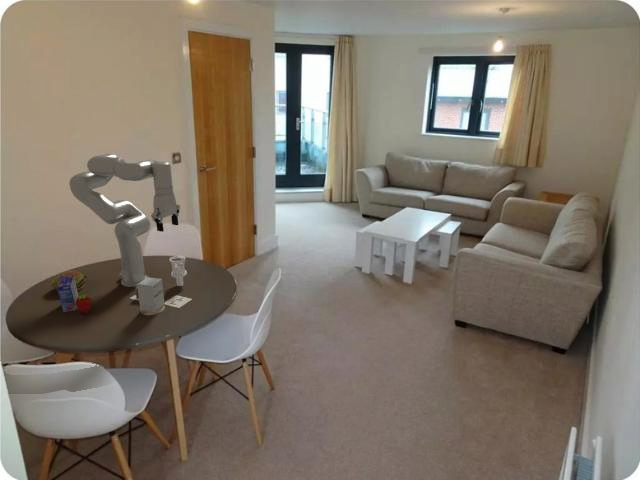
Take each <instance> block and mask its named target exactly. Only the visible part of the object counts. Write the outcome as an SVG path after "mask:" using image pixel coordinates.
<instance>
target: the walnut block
mask: <svg viewBox="0 0 640 480" xmlns="http://www.w3.org/2000/svg"><path fill="white" fill-rule="evenodd" d="M134 290H135V295H136V298H139V295H138V288H137V287H134Z"/></svg>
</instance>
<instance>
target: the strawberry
mask: <svg viewBox="0 0 640 480" xmlns="http://www.w3.org/2000/svg"><path fill="white" fill-rule="evenodd" d="M79 293H81V292H79ZM79 293H78V294H79ZM81 294H82V295H78V297H75V298H77V300H76V306H77V310H79V311H80V312H83V313H84V314H88V312H89V310H90V309H91V306H92V299H91V297H90V296H89V294H85V293H81Z"/></svg>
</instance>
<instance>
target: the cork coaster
mask: <svg viewBox="0 0 640 480" xmlns="http://www.w3.org/2000/svg"><path fill="white" fill-rule="evenodd" d="M165 309H166V305H164V306H162V307H161V308H160V309H159V310H158V311H157V312H156V313H153V312H146V311H141V310H140V309H139V312H140V313H141V314H142V315H144V316H153V315H158V314H160V313H162V312H164V311H165Z"/></svg>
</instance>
